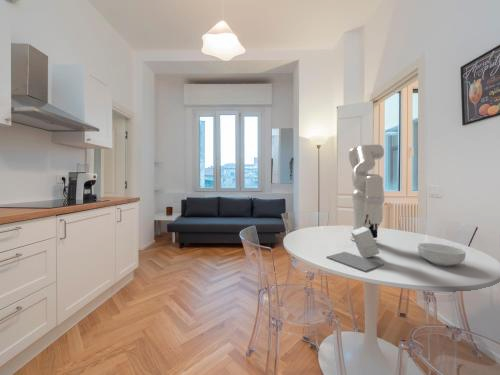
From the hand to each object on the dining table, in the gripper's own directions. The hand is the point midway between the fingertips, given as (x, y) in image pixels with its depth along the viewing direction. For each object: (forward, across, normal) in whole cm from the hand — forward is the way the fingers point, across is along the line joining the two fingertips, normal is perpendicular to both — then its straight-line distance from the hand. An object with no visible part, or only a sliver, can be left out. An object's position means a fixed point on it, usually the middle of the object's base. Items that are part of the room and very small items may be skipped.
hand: (373, 237), depth 115 cm
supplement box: (+8, +2, 0) cm, 8 cm away
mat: (+10, +15, 0) cm, 18 cm away
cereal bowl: (+10, -17, +22) cm, 29 cm away
